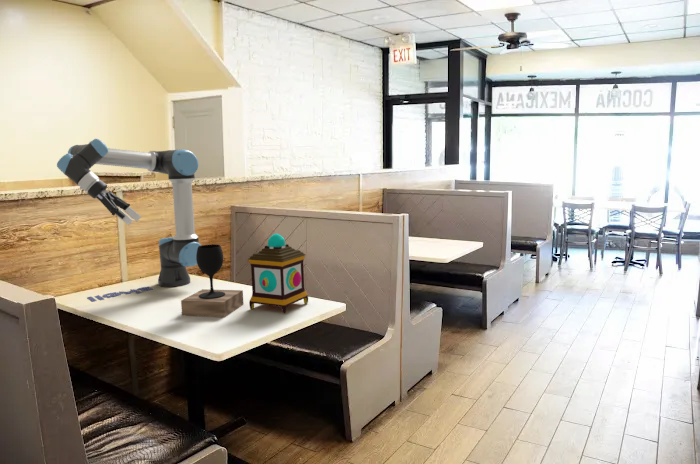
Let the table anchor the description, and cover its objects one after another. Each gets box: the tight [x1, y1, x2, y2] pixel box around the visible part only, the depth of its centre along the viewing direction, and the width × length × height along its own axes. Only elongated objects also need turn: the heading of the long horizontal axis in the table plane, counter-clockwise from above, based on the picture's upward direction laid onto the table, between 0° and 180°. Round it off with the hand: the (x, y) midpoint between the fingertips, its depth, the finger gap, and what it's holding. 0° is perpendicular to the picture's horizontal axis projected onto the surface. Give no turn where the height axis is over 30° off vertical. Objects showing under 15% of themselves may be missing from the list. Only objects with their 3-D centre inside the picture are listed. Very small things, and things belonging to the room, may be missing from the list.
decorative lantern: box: [247, 233, 309, 315], centre depth 221 cm, size 20×20×30 cm
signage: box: [86, 286, 154, 303], centre depth 251 cm, size 28×1×10 cm
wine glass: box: [196, 244, 225, 299], centre depth 218 cm, size 10×10×20 cm
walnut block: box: [180, 288, 244, 318], centre depth 220 cm, size 18×18×6 cm
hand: (135, 221), depth 225 cm, fingers open, 13 cm apart
